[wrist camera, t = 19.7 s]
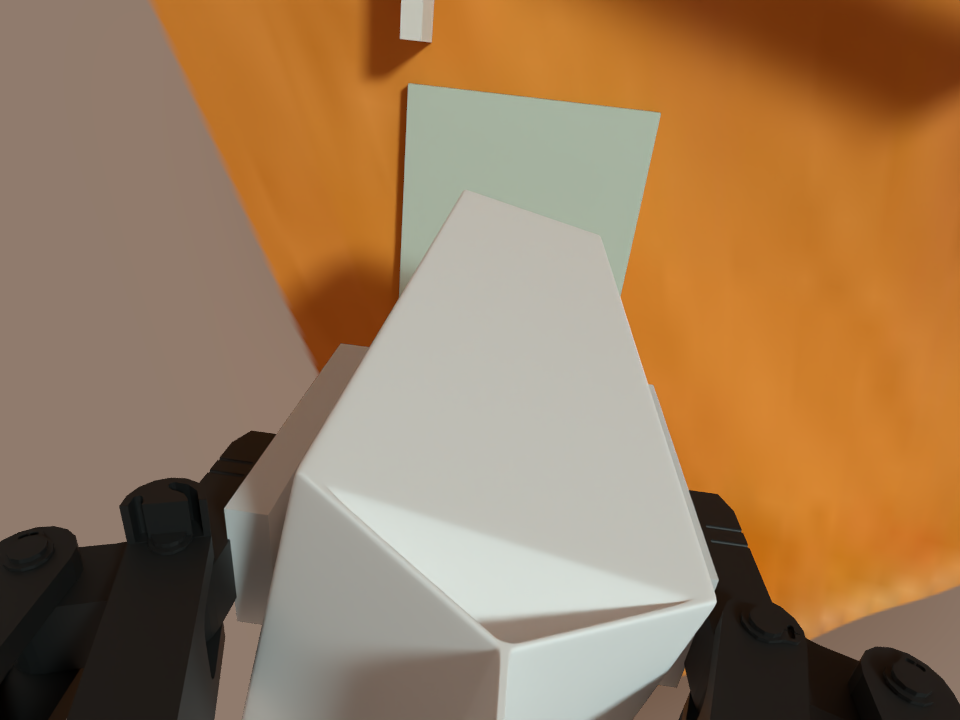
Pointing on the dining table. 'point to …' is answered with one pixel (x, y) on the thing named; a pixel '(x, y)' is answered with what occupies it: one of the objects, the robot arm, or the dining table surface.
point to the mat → (524, 164)
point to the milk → (486, 503)
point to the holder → (417, 20)
